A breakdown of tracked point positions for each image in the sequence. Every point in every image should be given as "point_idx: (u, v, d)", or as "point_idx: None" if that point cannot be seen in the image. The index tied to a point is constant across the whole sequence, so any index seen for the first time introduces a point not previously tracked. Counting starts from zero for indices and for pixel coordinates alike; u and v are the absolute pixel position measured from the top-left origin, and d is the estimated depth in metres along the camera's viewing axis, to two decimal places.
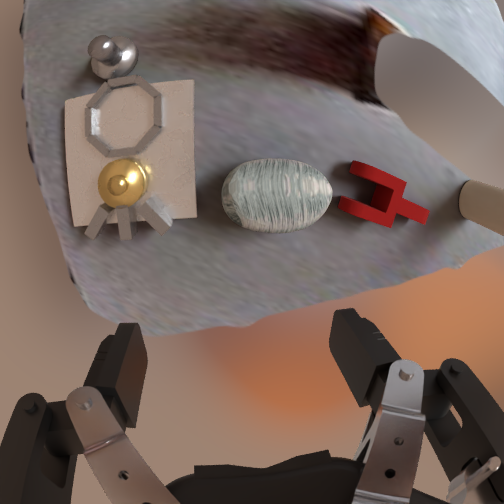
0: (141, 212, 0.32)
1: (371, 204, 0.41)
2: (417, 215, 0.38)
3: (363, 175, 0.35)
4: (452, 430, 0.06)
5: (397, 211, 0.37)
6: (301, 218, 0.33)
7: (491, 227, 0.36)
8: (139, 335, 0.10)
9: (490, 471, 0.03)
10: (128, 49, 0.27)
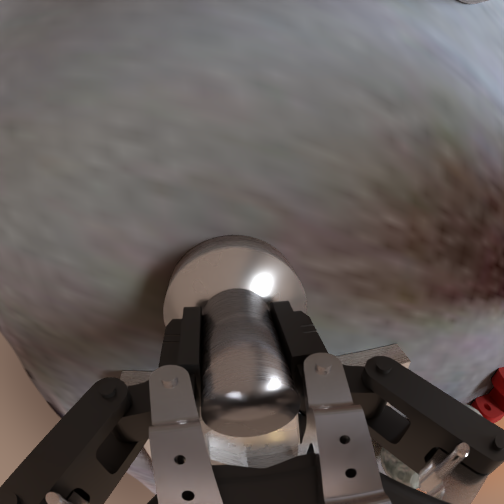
0: None
1: (490, 394, 0.26)
2: None
3: None
4: (396, 424, 0.07)
5: None
6: None
7: None
8: (201, 318, 0.11)
9: (461, 458, 0.04)
10: None
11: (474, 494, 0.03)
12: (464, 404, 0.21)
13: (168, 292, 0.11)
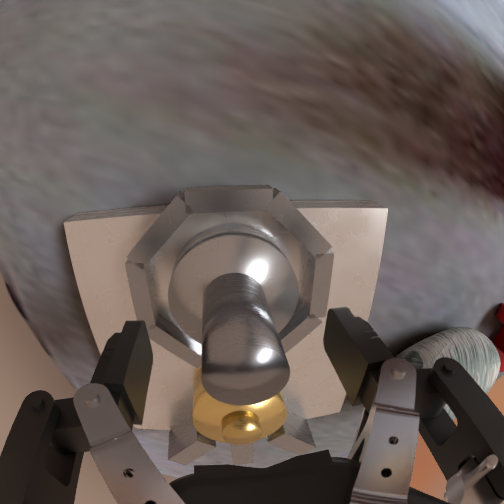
0: (274, 442, 0.17)
1: (495, 340, 0.26)
2: None
3: None
4: (447, 429, 0.06)
5: None
6: None
7: None
8: (145, 333, 0.10)
9: (488, 469, 0.03)
10: (279, 285, 0.14)
11: None
12: None
13: (173, 276, 0.13)
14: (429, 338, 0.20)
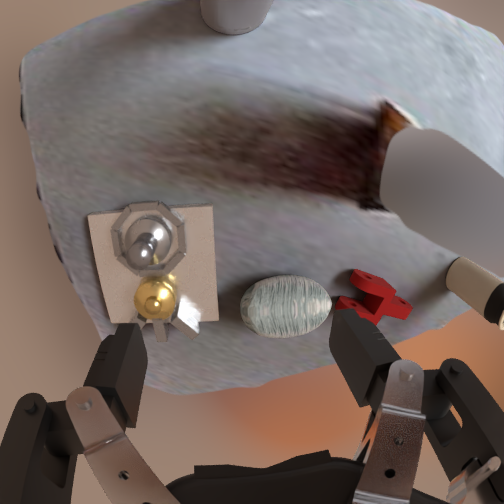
0: (174, 323, 0.40)
1: (363, 301, 0.49)
2: (400, 314, 0.46)
3: (360, 288, 0.43)
4: (452, 430, 0.06)
5: (384, 313, 0.45)
6: (305, 330, 0.40)
7: (471, 306, 0.44)
8: (139, 335, 0.10)
9: (490, 471, 0.03)
10: (162, 237, 0.36)
11: None
12: (305, 277, 0.43)
13: None
14: (267, 278, 0.42)
